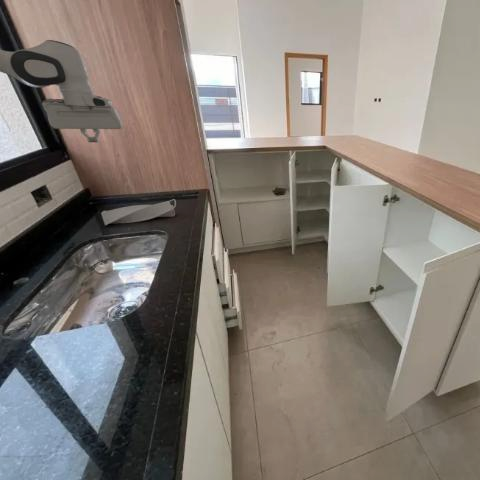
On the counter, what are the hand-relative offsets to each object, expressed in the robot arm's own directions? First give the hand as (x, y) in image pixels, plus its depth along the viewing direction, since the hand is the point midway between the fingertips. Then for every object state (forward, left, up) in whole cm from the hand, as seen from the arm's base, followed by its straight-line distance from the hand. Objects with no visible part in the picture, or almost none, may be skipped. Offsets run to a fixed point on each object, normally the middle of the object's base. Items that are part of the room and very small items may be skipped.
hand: (94, 142), depth 97 cm
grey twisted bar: (-7, +3, -31) cm, 31 cm away
